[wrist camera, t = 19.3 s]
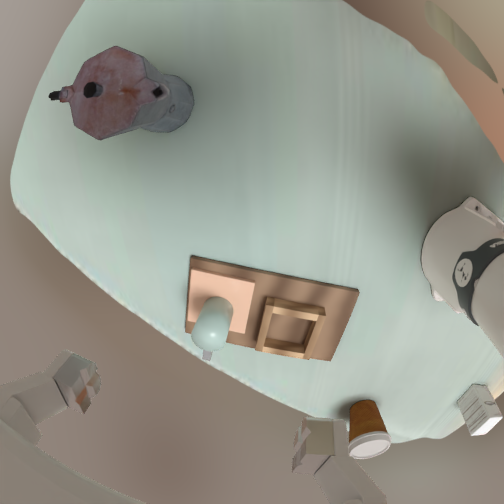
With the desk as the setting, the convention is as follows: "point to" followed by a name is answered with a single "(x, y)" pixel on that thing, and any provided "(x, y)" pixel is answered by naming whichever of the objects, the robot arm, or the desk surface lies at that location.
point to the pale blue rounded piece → (212, 326)
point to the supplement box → (479, 410)
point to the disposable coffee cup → (367, 431)
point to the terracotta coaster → (221, 295)
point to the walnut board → (287, 312)
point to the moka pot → (125, 96)
